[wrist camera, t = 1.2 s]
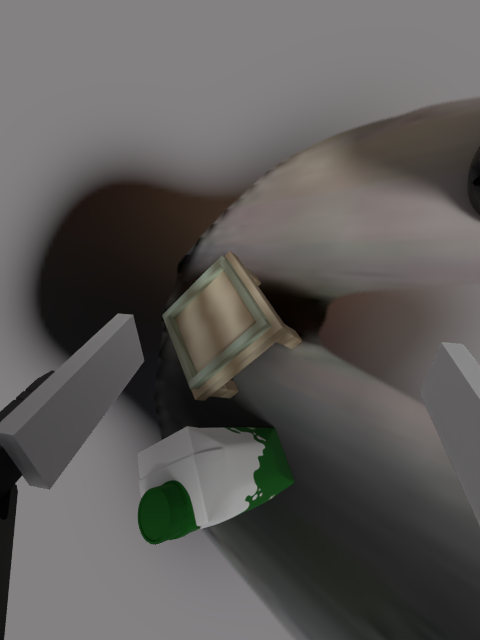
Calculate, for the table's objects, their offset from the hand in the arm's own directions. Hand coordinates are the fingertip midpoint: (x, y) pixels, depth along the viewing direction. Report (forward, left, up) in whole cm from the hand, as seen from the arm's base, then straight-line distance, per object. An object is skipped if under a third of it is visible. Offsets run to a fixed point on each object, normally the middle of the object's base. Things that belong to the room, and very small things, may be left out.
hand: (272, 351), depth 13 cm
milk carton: (+17, -6, -28) cm, 33 cm away
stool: (+6, -22, -28) cm, 36 cm away
